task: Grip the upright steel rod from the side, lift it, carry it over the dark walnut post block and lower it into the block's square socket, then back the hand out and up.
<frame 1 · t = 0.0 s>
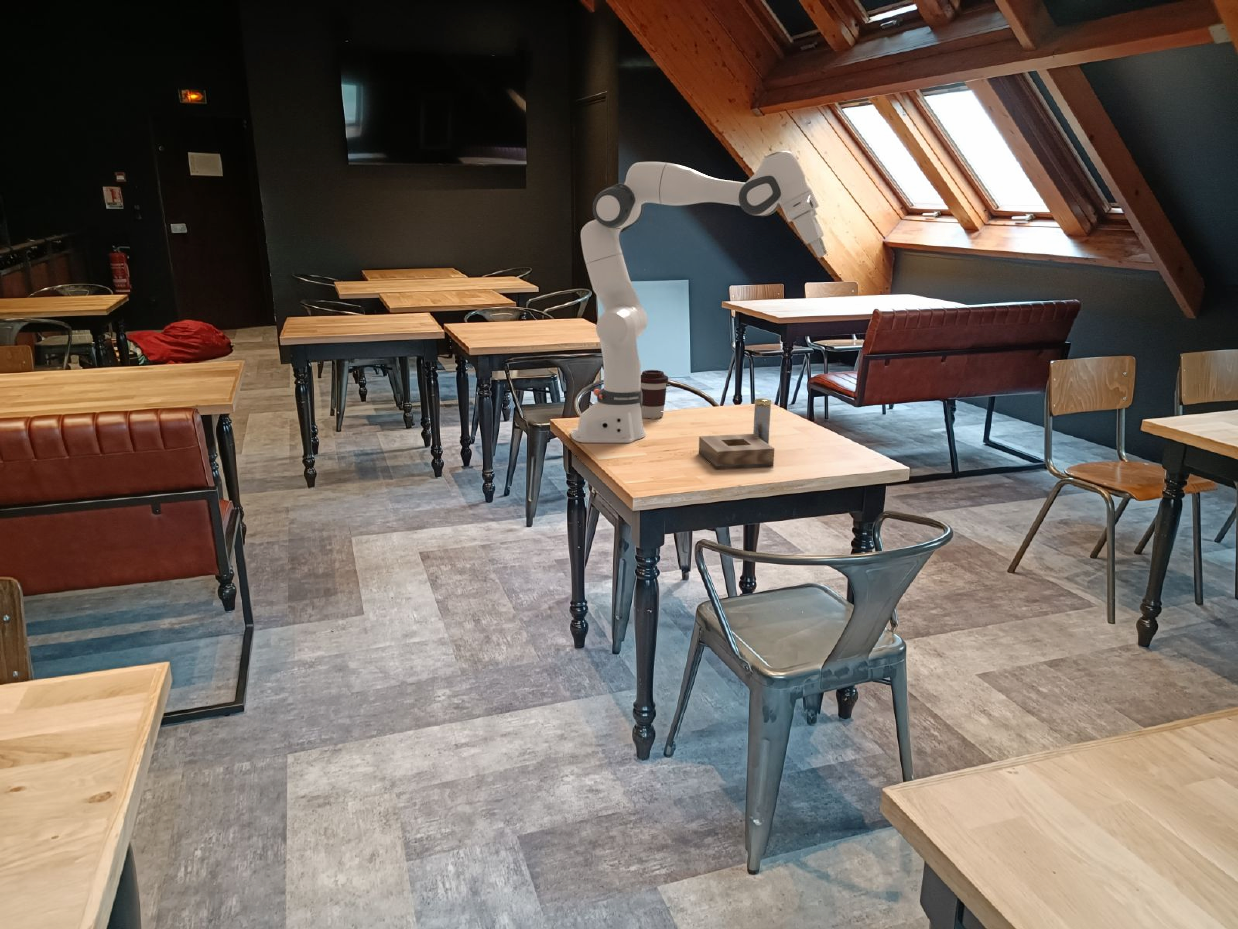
hand: (823, 255, 239), 54 cm above the table, tool tilted 30°, fingers open, 8 cm apart
post block: (735, 459, 244), on the table
steel rod: (760, 447, 257), on the table
coffee cup: (652, 417, 293), on the table
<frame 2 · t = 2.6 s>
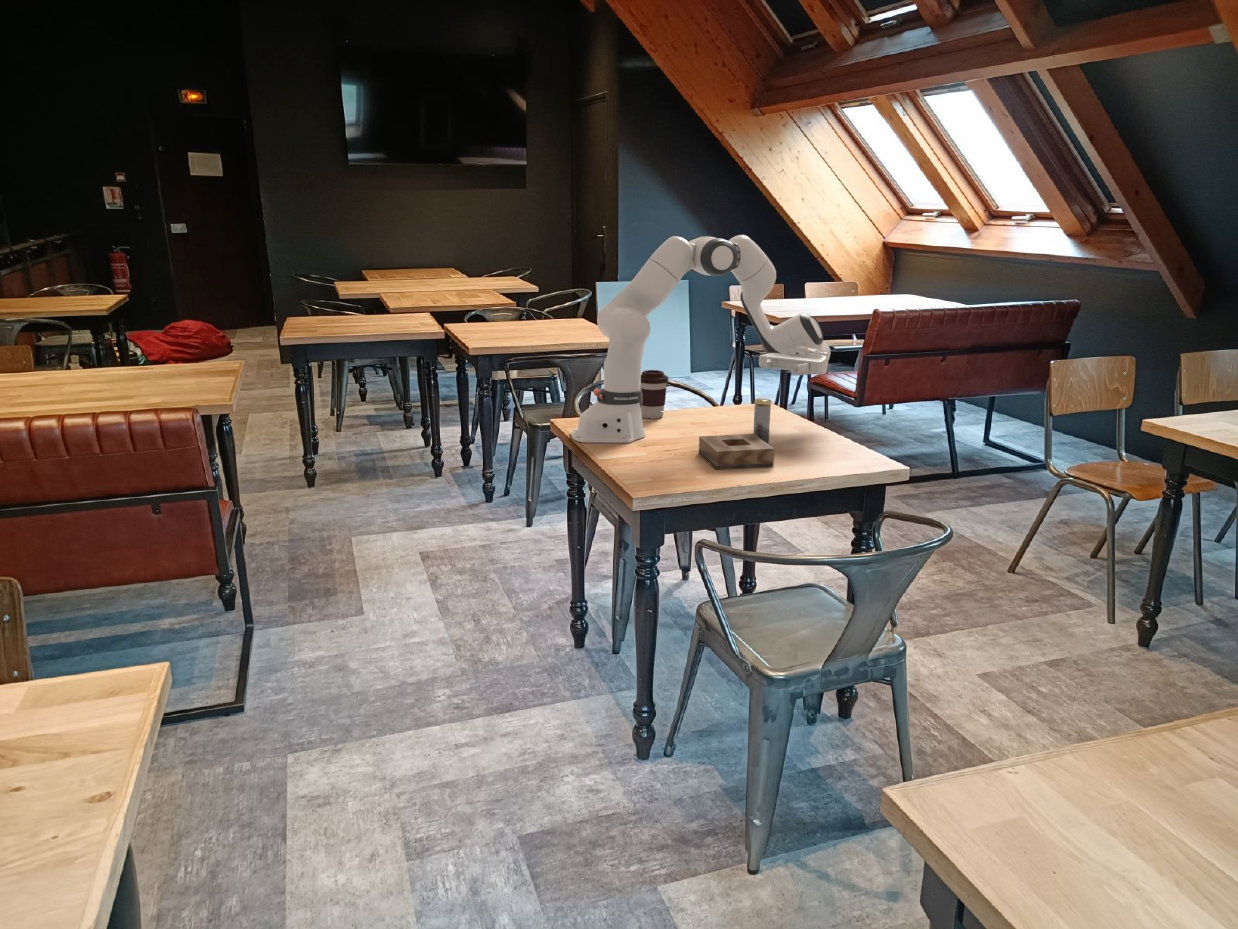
hand: (782, 366, 260), 22 cm above the table, tool horizontal, fingers open, 8 cm apart
nothing on the table moved.
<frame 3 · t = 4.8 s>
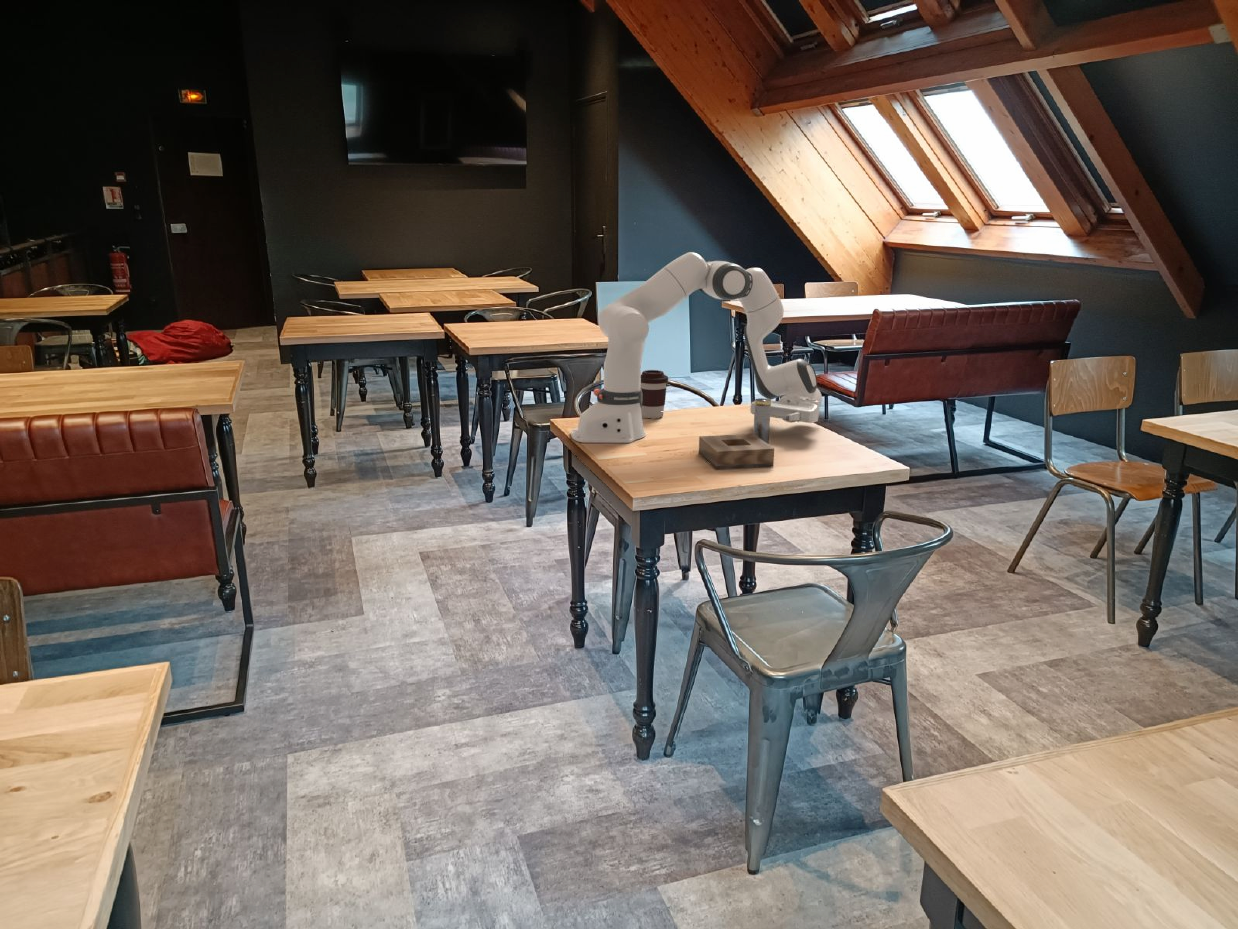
hand: (773, 415, 261), 8 cm above the table, tool horizontal, fingers open, 8 cm apart
nothing on the table moved.
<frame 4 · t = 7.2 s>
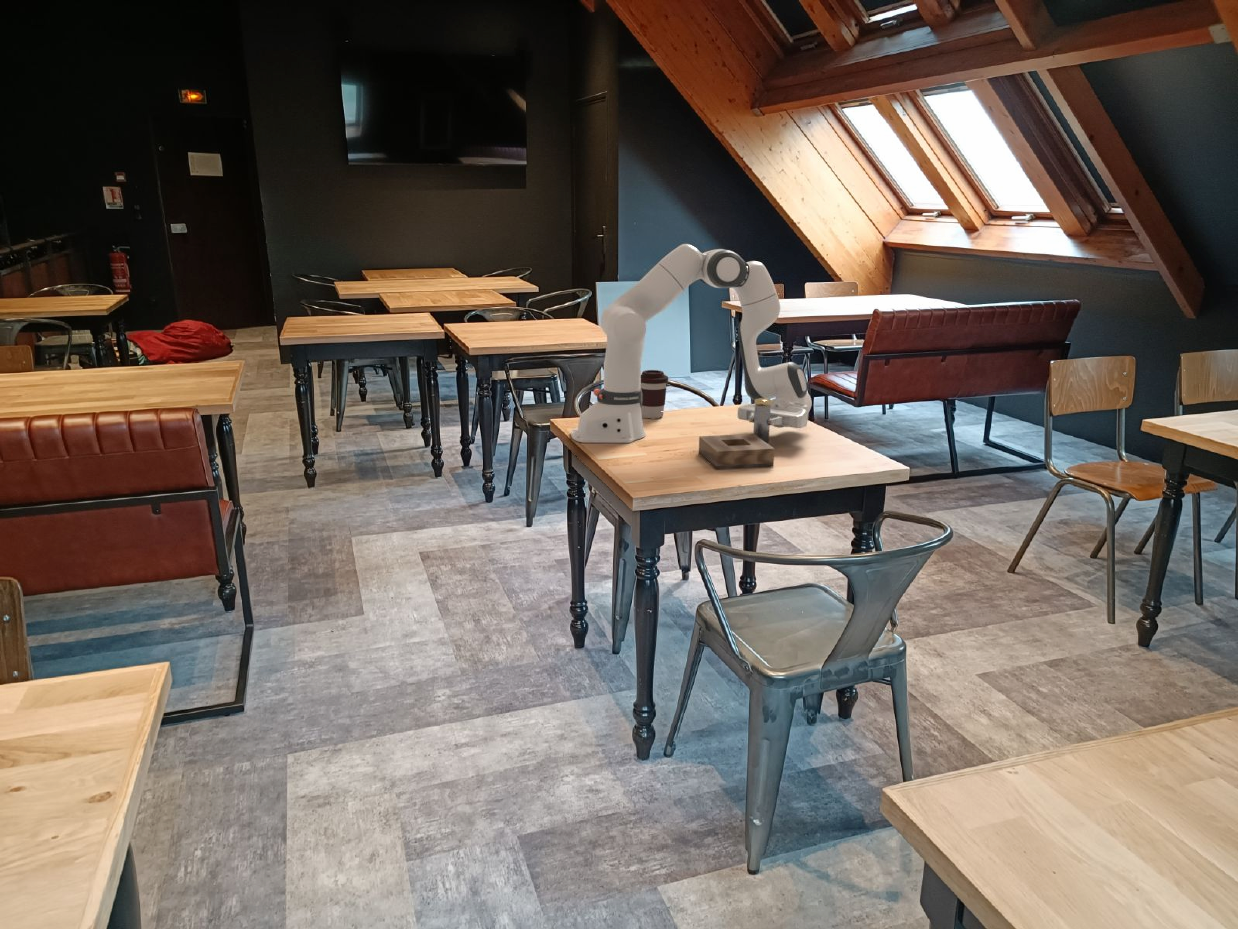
hand: (760, 421, 254), 8 cm above the table, tool horizontal, fingers closed on steel rod, 4 cm apart
steel rod: (760, 447, 257), on the table, touching gripper
everything else where it was.
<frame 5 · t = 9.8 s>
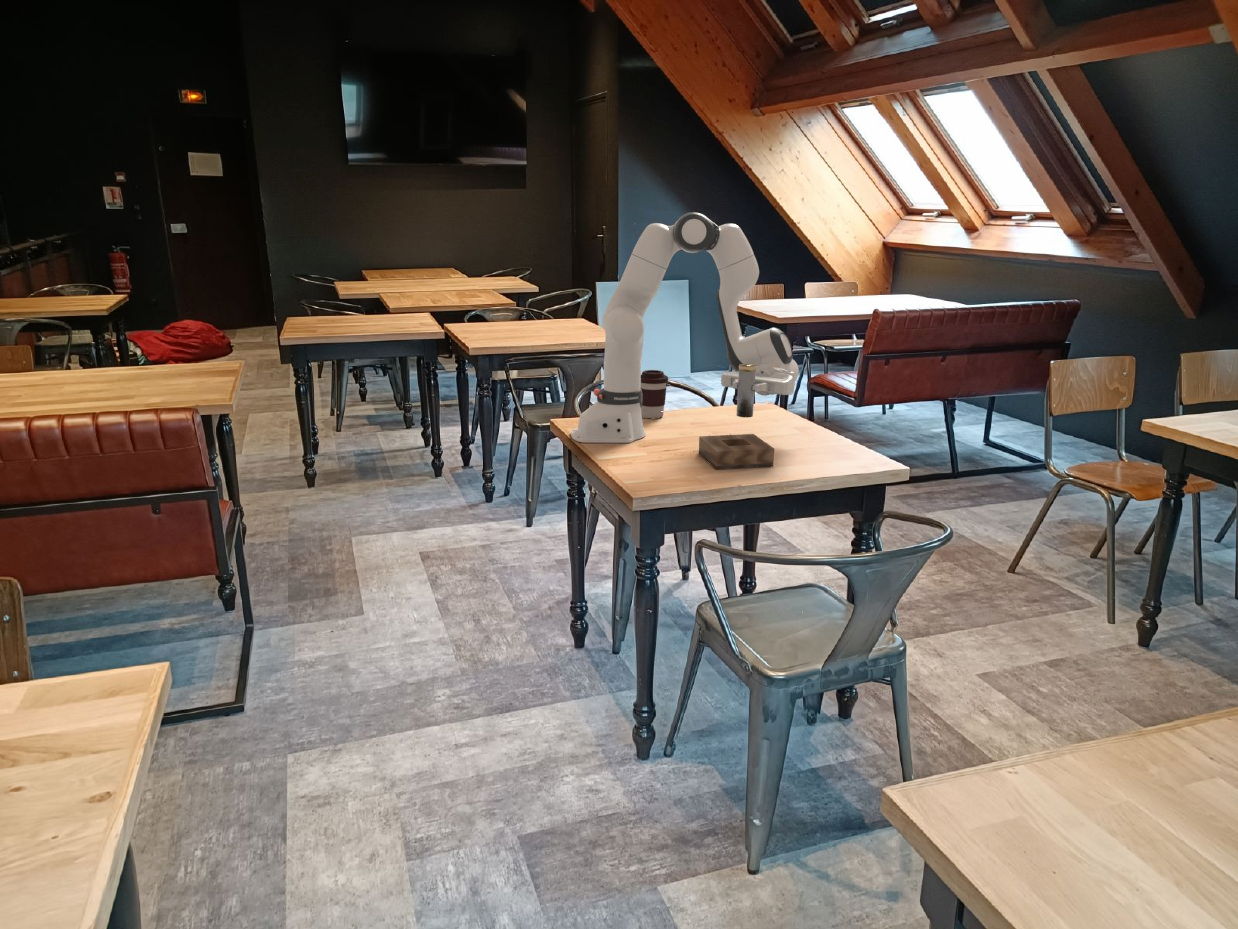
hand: (744, 387, 242), 20 cm above the table, tool horizontal, fingers closed on steel rod, 4 cm apart
steel rod: (744, 415, 245), point 12 cm above the table, touching gripper
everything else where it was.
when the fingers open (10 cm above the table, at t = 12.9 s): steel rod drops 1 cm, resting on post block.
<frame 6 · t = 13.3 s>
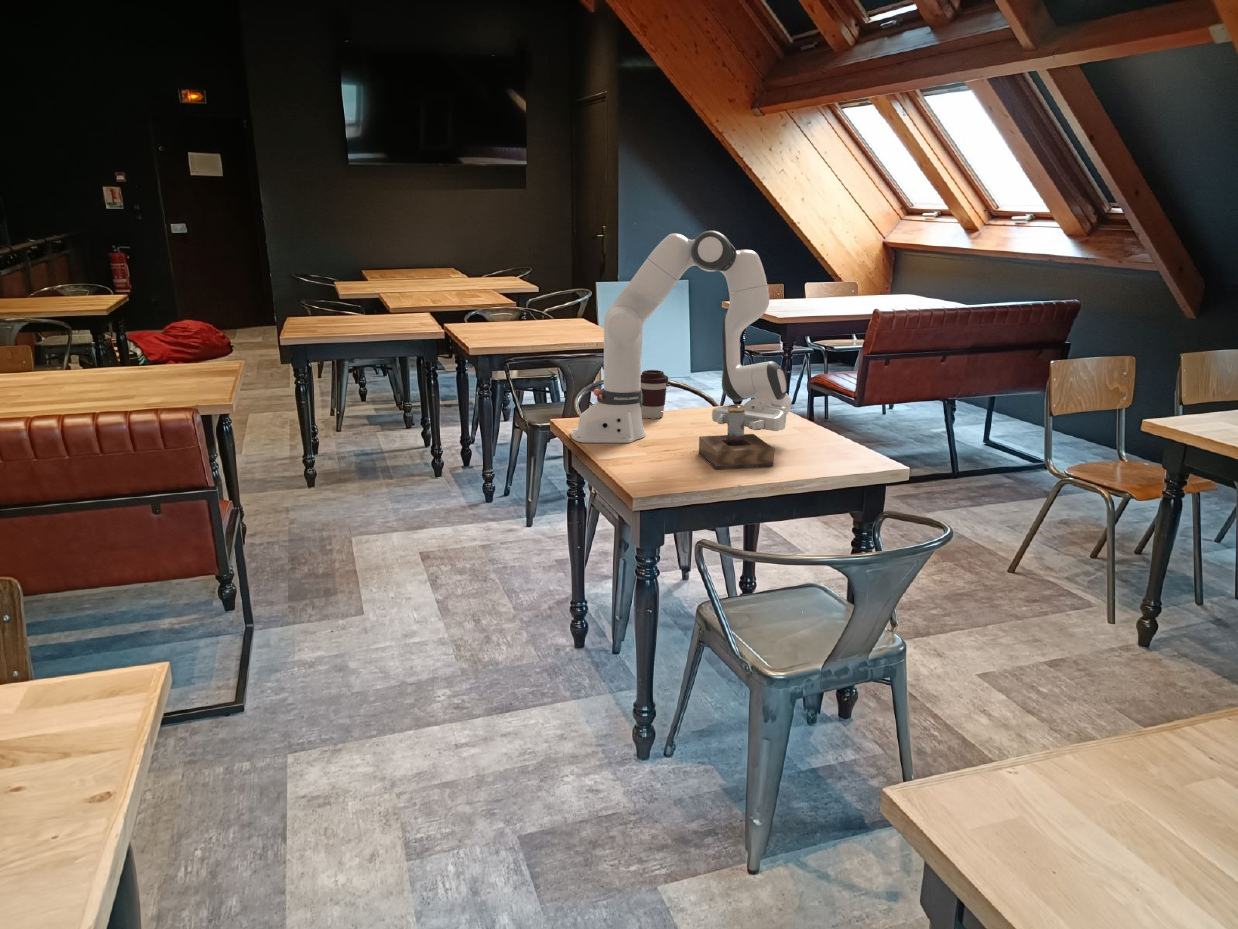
hand: (735, 423, 241), 10 cm above the table, tool horizontal, fingers open, 8 cm apart
steel rod: (735, 456, 244), point 1 cm above the table, touching post block
everything else where it was.
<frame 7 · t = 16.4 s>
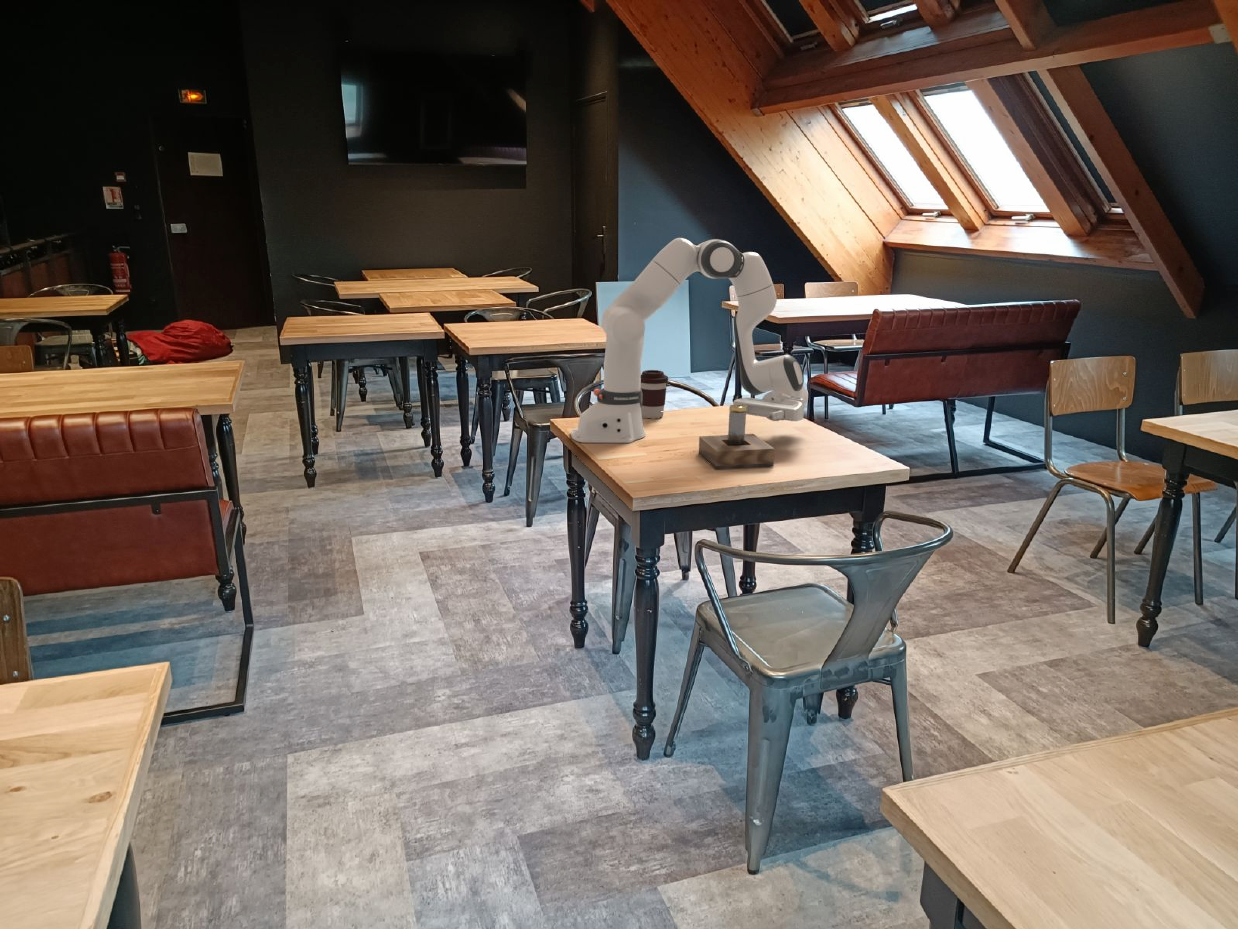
hand: (756, 414, 251), 11 cm above the table, tool horizontal, fingers open, 8 cm apart
nothing on the table moved.
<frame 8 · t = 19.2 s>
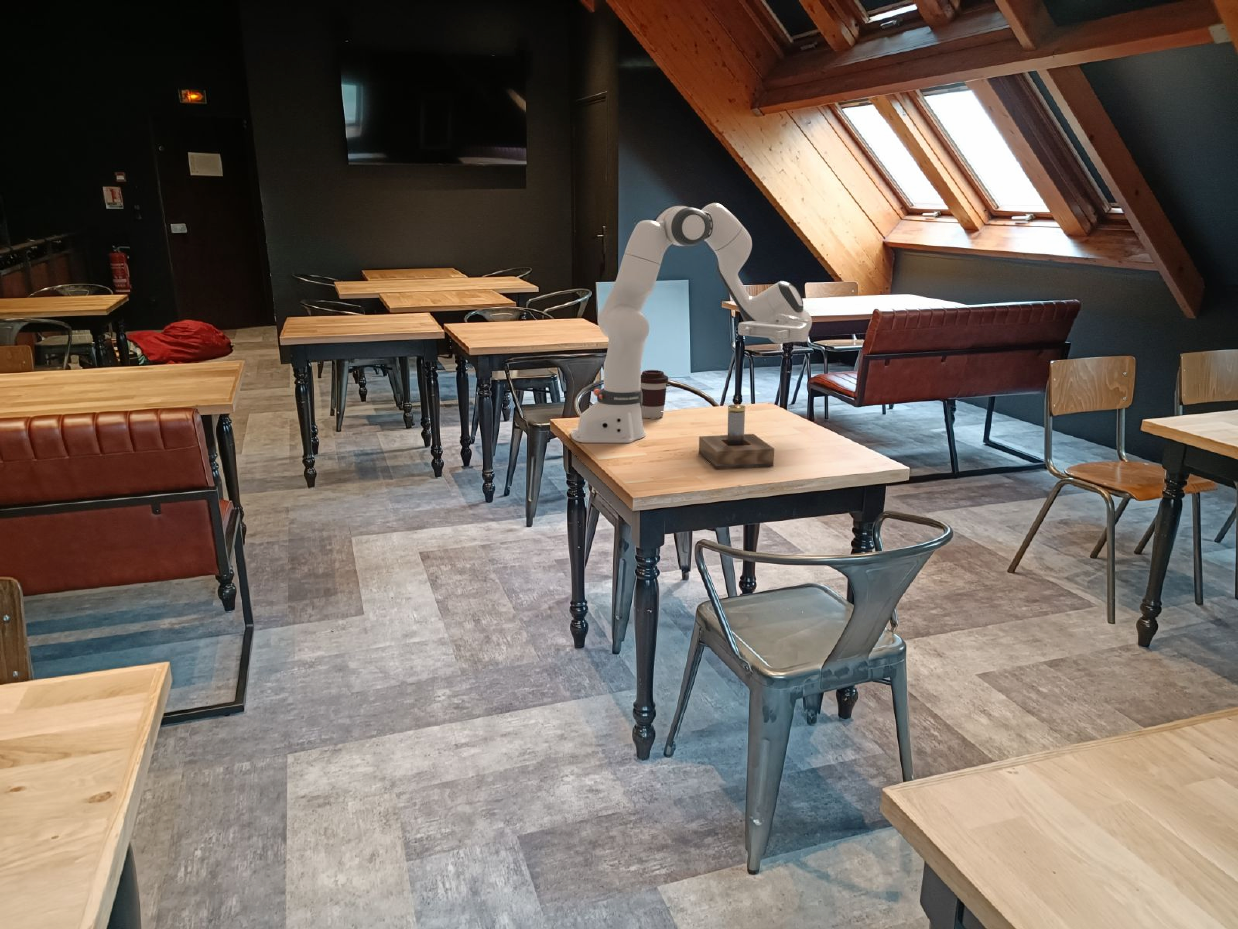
hand: (761, 333, 254), 32 cm above the table, tool horizontal, fingers open, 8 cm apart
nothing on the table moved.
at the end: steel rod 0.1 cm off-centre on the post block, point 1.0 cm above the post block's base; steel rod tilted 1°; the gripper is holding nothing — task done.
